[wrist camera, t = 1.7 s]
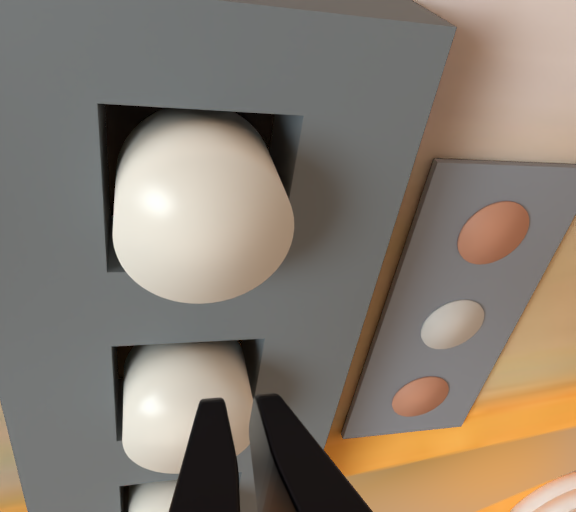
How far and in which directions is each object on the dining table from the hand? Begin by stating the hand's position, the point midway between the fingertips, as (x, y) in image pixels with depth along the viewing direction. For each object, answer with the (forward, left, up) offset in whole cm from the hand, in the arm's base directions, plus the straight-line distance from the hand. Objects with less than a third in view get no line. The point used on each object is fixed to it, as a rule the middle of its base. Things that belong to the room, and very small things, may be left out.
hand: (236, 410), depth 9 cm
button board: (-8, 0, -10) cm, 13 cm away
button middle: (-8, 0, -8) cm, 11 cm away
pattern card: (-8, -12, -10) cm, 18 cm away
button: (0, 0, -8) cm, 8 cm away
